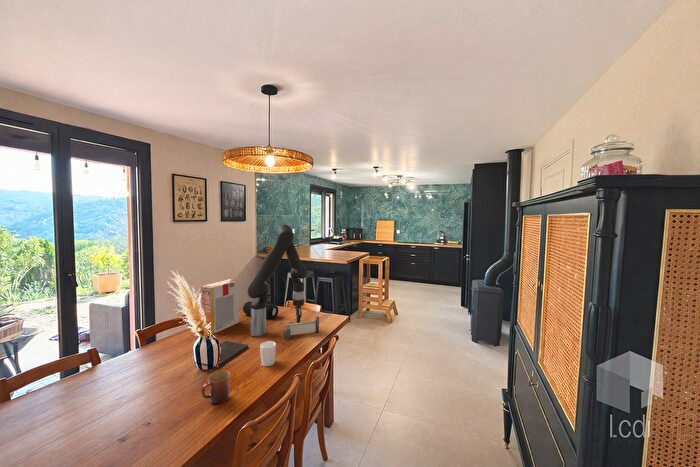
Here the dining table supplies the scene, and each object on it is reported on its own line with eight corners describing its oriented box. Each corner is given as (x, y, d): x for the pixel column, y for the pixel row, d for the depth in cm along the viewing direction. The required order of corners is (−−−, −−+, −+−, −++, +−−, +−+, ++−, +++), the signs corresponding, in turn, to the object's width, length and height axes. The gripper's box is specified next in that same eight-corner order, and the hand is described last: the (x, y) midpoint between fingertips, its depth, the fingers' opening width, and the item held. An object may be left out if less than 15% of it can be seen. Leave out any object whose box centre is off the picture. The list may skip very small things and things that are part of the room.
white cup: (279, 361, 151) (279, 342, 150) (268, 368, 144) (268, 349, 143) (267, 357, 154) (267, 339, 153) (256, 364, 147) (256, 345, 146)
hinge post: (315, 333, 187) (316, 318, 186) (314, 331, 189) (315, 316, 188) (319, 332, 187) (319, 317, 187) (318, 331, 190) (318, 316, 189)
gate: (314, 331, 188) (314, 320, 188) (315, 332, 187) (315, 321, 186) (286, 335, 182) (286, 323, 181) (286, 336, 180) (286, 325, 180)
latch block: (284, 339, 176) (284, 331, 176) (283, 337, 179) (283, 330, 178) (290, 338, 178) (290, 330, 177) (289, 337, 180) (289, 329, 180)
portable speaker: (279, 316, 216) (279, 303, 215) (271, 320, 206) (271, 307, 206) (250, 311, 224) (250, 299, 223) (242, 316, 214) (241, 303, 214)
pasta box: (230, 320, 205) (230, 279, 203) (239, 322, 202) (238, 280, 200) (202, 332, 185) (201, 286, 182) (211, 334, 181) (210, 287, 179)
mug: (222, 390, 125) (222, 367, 125) (235, 397, 121) (235, 374, 120) (195, 405, 115) (195, 381, 115) (208, 414, 111) (208, 388, 110)
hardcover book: (193, 363, 148) (193, 359, 148) (225, 344, 170) (225, 340, 170) (218, 369, 143) (218, 364, 143) (248, 348, 165) (248, 344, 165)
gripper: (305, 300, 184) (305, 326, 185) (302, 294, 196) (302, 319, 198) (294, 301, 181) (293, 327, 183) (291, 295, 194) (291, 320, 195)
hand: (298, 323), depth 190 cm, fingers closed
